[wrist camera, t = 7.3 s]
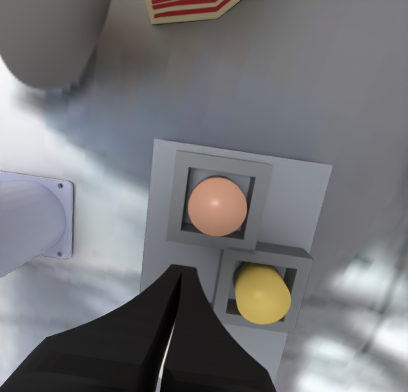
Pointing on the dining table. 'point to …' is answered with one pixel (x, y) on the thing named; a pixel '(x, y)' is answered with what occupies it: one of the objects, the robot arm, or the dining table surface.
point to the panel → (236, 232)
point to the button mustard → (261, 293)
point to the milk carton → (186, 10)
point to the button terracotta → (217, 206)
